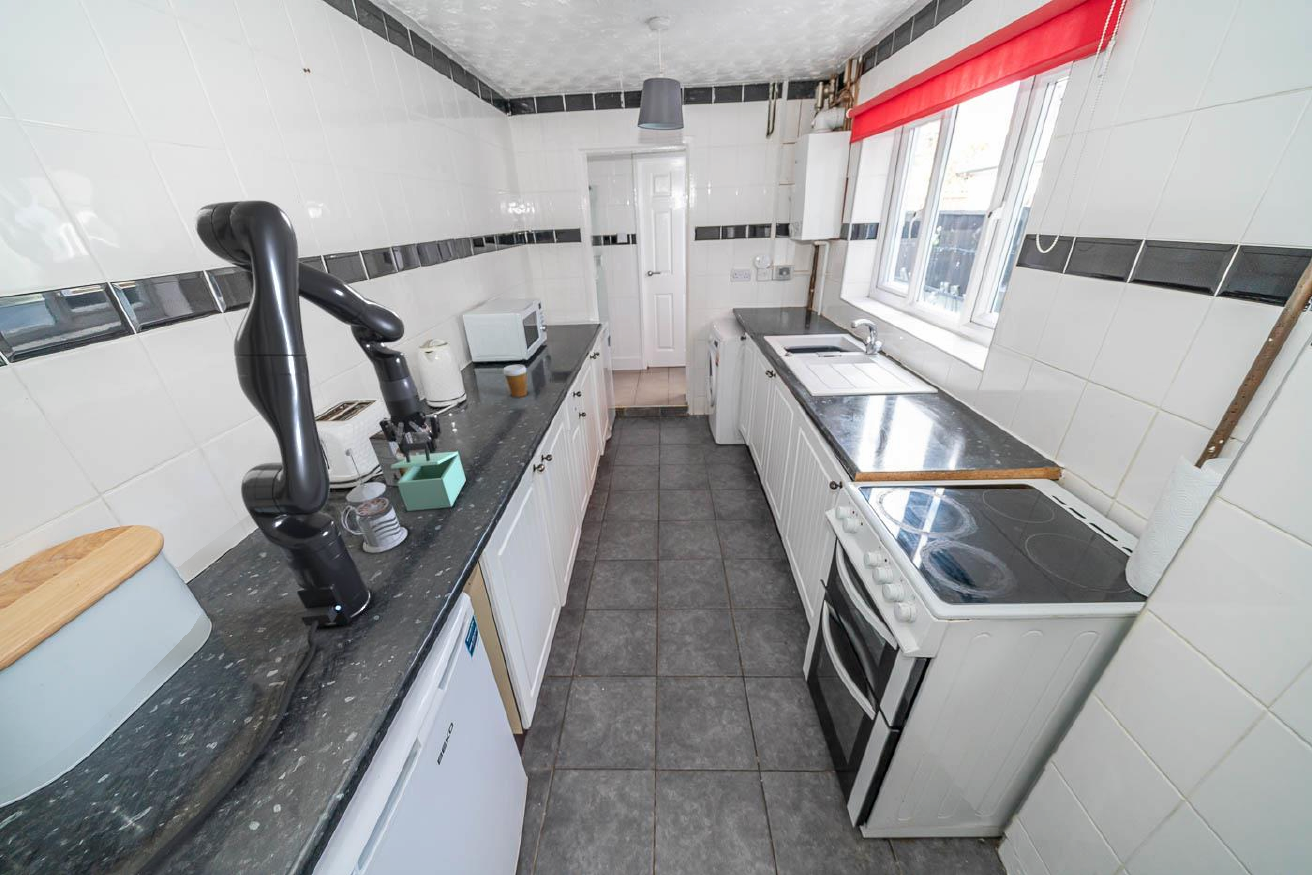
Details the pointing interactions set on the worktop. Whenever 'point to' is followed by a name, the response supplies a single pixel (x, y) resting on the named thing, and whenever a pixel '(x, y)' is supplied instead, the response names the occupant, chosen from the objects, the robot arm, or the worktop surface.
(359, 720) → the worktop surface
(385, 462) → the coffee box
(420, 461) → the lid
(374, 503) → the french press
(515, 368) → the disposable coffee cup
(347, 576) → the robot arm
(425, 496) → the mint green open box
